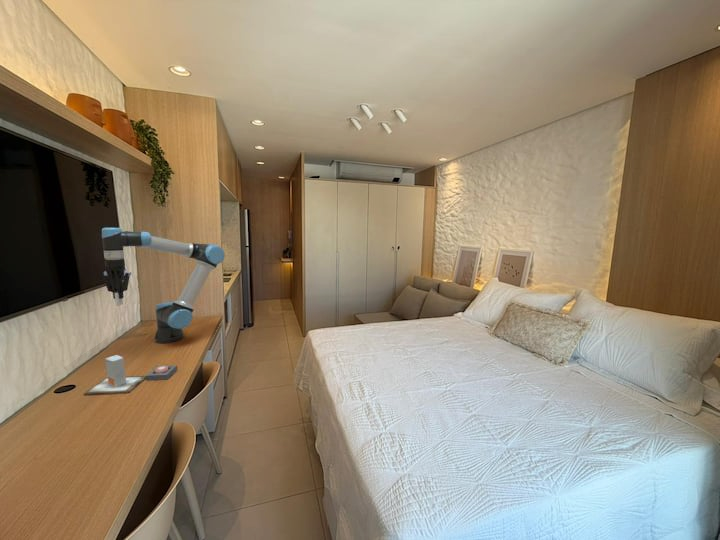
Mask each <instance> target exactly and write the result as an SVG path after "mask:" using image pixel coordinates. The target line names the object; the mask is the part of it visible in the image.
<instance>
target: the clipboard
mask: <svg viewBox="0 0 720 540" xmlns="http://www.w3.org/2000/svg"><path fill="white" fill-rule="evenodd" d="M144 381H146V375H134V376H133V375H132V376H130V375H129V376H126V383H125V384H123V385H120V386H118V387H114V386H112V385H110V384H108V376H107V377H106V378H103V380H101V381H100V382H99V383H97V384H95V385H93V386H92V387H91V388H90V389H88V390H87V391H85V392H84V393H83V396H98V395H99V396H100V395H101V396H102V395H118V394H119V395H121V394H122V395H123V394H130V393H131V392H132V391H133V390H135V388H137V387H138V386H139V385H141V384H142V383H143V382H144Z"/></svg>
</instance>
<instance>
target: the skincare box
mask: <svg viewBox="0 0 720 540" xmlns="http://www.w3.org/2000/svg"><path fill="white" fill-rule="evenodd" d="M105 365H106V366H105V367H106V374H107V375H106V376H107V377H108V384H110V385H112V386H114V387H118V386H120V385H123V384H125V383H126V377H127V376H126V368H125V359H124V357H122V356H121V355H118V354H115V355H112V356H109V357H106V358H105Z"/></svg>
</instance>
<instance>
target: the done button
mask: <svg viewBox="0 0 720 540" xmlns="http://www.w3.org/2000/svg"><path fill="white" fill-rule="evenodd" d="M158 366H159V367H157V366H156V367H157V368H156V367H155V368H156V369H155V373H166V372H167V371H168V366H169V365H158Z"/></svg>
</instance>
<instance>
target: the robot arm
mask: <svg viewBox="0 0 720 540" xmlns="http://www.w3.org/2000/svg"><path fill="white" fill-rule="evenodd" d="M101 239H102V247H103V256H104V266H105V270H104V272H103V271H102V272H100V277H102V278H103V281H104V285H105V286H106V290H107V291H108V292H111V293H112V297H113V299H114V302H115V307H116V306H121V305H123V304H124V303H123V299H124V292H126V291H127V290H128V287H129V284H130V283H129V282H130V277H131V275H132V272H129V271H127V269H126V268H125V266H126V262H125V259H124V258H125V253H124V251H125V250H124V247H137V248H143V249H148V250H149V249H150V250H153V251H154V250H155V251H161V252H164V253H171V254H176V255H182V256H185V257H186V258H190V259H194V260H196V261H195V262H196V266H195V268H194V269H193V271H192V273H191V275H190V277H189V279H188V281H187V282H186V284H185V286H184V288H183V290H182V291H181V294H180V295H179V297H178V299H177V300H174V301H167V302H161V303H158V304H156V305H155V309H154V310H155V316H156V317H155V318H156V326H157V327H156V328H157V329H156V331H155V336H154V342H155V343H158V344H159V343H160V344H168V343H173V342H177V341H180V340H182V339H183V338H184V337H185V334H184V331H183V329H184V328H187V327H188V326H189V325H190V324H191V323H192V321H193V318H194V317H193V311H194V310H195V308H194V304H195V303H196V300H197V298H198V296H199V295H200V292H201V290H202V289H203V287H204V285H205V283H206V281H207V279H208V278H209V276H210V273H211V272H212V270H215V269H216V268H217V267H218V265H219V264H221V263H222V262H224V260H225V258H226V257H225V256H226V255H225V251H224V249H223V248H222V246H220V245H217V244H214V243H213V244H211V243H210V244H209V243H195V242H194V243H193V242H188V243H186V242H182V241H177V240H172V239H167V238H164V237H158V236H153V235H151V233H150V232H147V231H129V230H124V231H122V228H121V227H103V228H102V229H101Z"/></svg>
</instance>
